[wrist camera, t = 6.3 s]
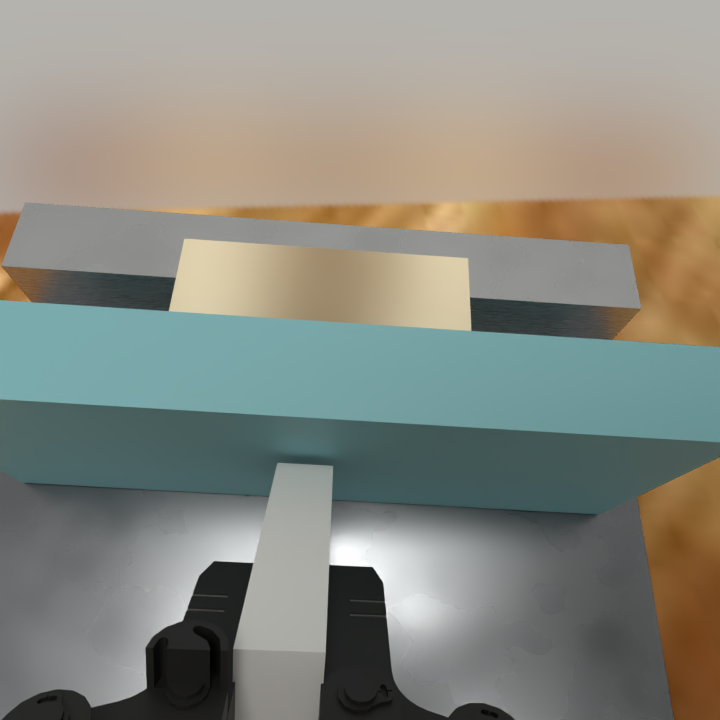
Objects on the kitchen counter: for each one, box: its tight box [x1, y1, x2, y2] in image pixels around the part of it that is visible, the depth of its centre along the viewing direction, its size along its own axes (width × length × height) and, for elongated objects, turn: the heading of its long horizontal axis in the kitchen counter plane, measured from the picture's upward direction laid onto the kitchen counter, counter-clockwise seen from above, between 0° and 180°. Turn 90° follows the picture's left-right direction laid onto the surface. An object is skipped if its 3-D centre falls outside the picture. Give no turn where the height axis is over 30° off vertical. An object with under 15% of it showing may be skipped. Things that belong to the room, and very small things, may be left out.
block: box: [169, 239, 471, 331], centre depth 19 cm, size 8×3×7 cm, turn 87°
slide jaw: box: [0, 300, 720, 515], centre depth 17 cm, size 20×2×8 cm, turn 87°
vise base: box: [0, 203, 674, 720], centre depth 19 cm, size 23×16×6 cm
